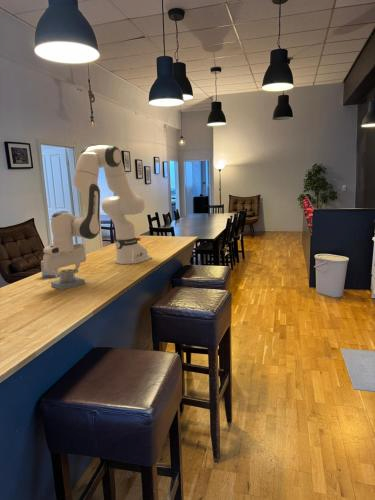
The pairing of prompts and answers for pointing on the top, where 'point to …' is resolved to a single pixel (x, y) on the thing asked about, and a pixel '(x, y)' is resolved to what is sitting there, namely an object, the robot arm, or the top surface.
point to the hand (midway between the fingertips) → (67, 274)
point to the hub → (67, 276)
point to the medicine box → (47, 272)
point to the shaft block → (67, 285)
